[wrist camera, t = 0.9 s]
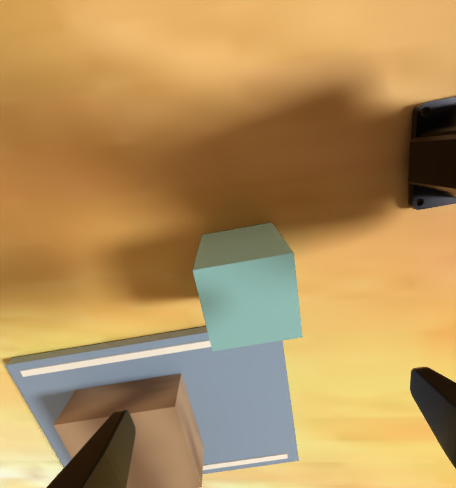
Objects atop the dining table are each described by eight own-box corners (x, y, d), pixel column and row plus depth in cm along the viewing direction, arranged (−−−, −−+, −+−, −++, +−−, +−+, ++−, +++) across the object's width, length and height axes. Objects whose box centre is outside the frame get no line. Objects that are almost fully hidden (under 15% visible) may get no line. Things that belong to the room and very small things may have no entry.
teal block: (271, 222, 18) (293, 252, 13) (280, 285, 20) (302, 337, 14) (201, 234, 19) (192, 270, 13) (215, 295, 20) (212, 351, 15)
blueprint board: (277, 314, 21) (279, 321, 20) (296, 451, 26) (299, 461, 25) (12, 357, 22) (4, 366, 21) (81, 481, 27) (77, 492, 26)
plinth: (181, 373, 21) (174, 406, 19) (204, 448, 24) (201, 487, 22) (75, 389, 22) (53, 425, 19) (110, 461, 25) (95, 501, 22)
